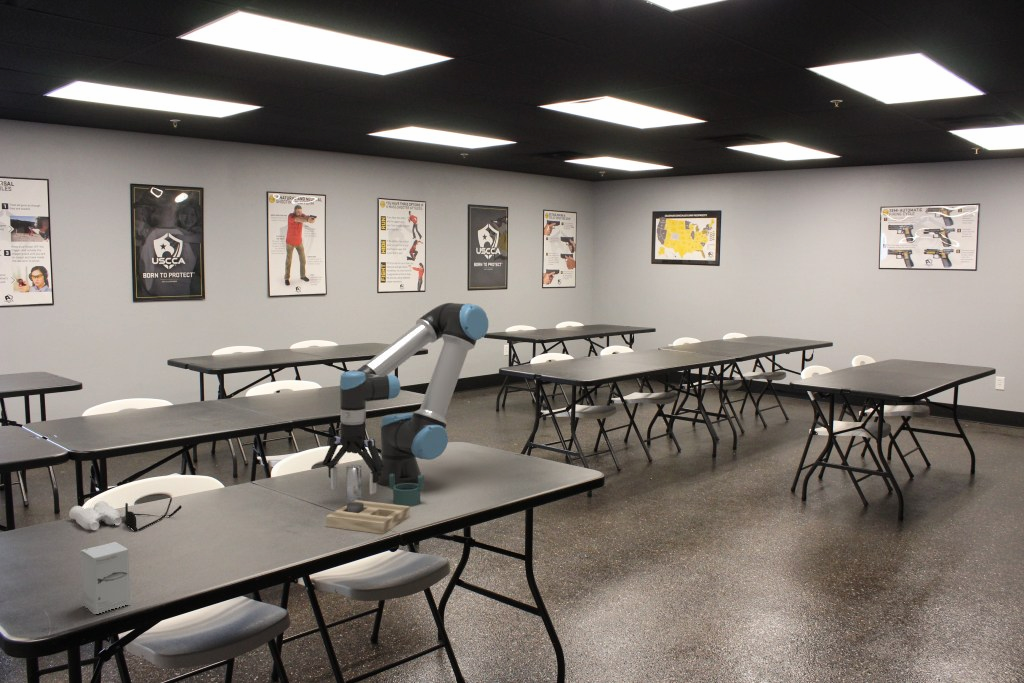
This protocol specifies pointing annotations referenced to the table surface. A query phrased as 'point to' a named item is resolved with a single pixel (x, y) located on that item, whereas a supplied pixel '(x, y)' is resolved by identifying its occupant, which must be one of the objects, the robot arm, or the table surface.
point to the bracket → (406, 491)
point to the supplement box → (105, 577)
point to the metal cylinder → (354, 483)
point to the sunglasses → (131, 516)
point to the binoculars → (95, 515)
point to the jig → (368, 516)
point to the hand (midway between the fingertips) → (353, 490)
